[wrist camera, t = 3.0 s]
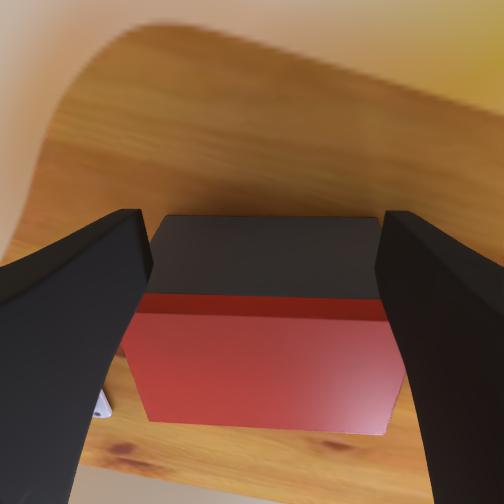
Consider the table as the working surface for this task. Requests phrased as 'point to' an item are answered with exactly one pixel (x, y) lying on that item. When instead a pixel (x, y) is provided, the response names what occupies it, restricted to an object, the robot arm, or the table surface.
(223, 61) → the table surface
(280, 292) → the grey and red box
